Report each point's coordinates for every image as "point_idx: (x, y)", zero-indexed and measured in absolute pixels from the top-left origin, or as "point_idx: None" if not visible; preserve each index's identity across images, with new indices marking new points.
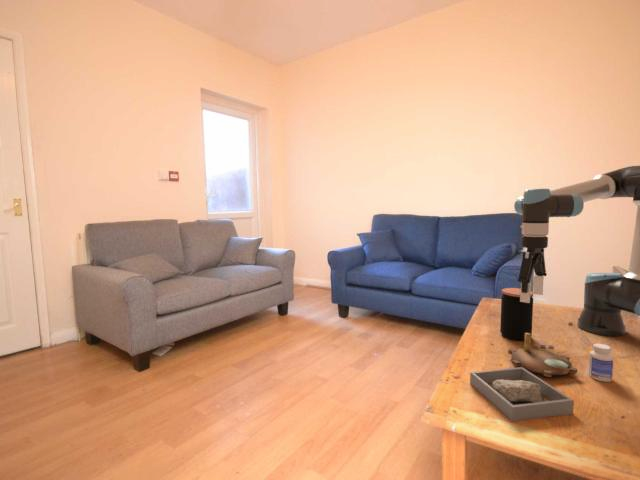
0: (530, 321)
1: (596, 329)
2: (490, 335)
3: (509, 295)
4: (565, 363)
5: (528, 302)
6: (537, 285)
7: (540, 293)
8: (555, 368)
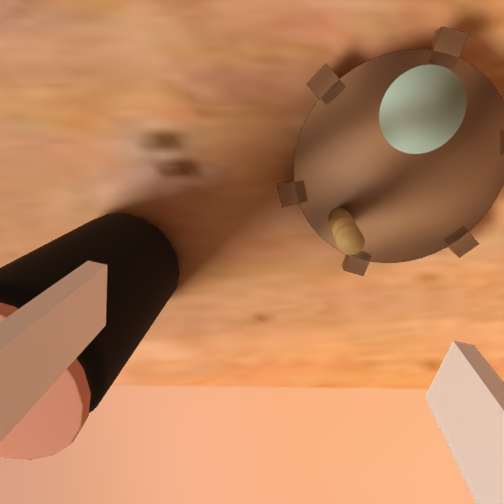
0: (107, 240)
1: None
2: (180, 330)
3: (88, 413)
4: (404, 75)
5: (475, 353)
6: (54, 351)
7: (101, 281)
8: (477, 110)
